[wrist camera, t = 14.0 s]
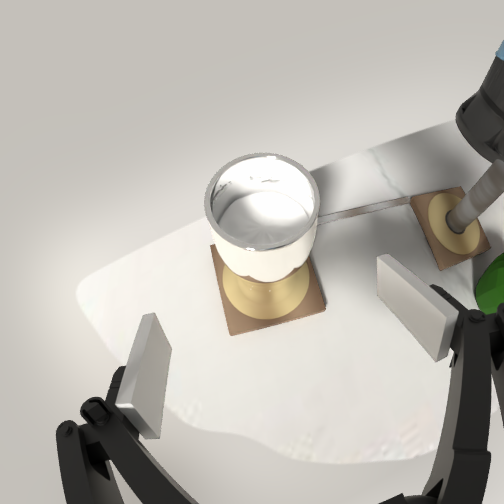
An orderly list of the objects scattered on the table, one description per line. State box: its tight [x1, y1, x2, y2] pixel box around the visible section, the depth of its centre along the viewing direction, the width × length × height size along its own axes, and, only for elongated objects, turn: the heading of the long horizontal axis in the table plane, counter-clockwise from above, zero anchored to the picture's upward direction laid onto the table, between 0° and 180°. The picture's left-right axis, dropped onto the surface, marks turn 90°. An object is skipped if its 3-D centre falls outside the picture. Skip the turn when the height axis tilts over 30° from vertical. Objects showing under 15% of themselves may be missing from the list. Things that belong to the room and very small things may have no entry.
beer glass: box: [204, 153, 320, 305], centre depth 23 cm, size 7×7×15 cm
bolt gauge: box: [210, 159, 504, 336], centre depth 26 cm, size 36×11×13 cm, turn 104°
